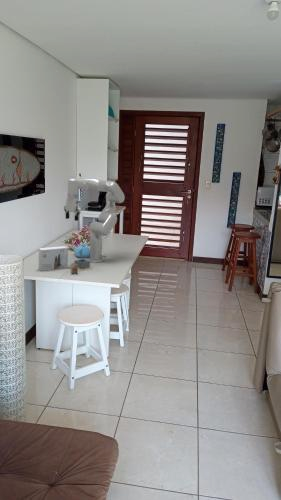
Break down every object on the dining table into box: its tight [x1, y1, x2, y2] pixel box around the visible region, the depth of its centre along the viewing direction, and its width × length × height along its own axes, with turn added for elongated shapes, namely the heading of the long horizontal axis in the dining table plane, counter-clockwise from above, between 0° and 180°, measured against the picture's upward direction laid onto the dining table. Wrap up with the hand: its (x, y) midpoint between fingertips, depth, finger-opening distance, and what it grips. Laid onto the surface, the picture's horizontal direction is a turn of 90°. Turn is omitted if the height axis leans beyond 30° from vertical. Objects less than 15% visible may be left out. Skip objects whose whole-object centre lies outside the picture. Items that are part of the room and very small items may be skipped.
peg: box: [70, 262, 79, 275], centre depth 268 cm, size 4×4×7 cm
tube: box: [74, 258, 93, 272], centre depth 283 cm, size 11×11×5 cm
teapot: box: [71, 242, 90, 259], centre depth 314 cm, size 15×15×10 cm
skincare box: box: [37, 245, 69, 272], centre depth 275 cm, size 21×5×16 cm, turn 126°
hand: (71, 219), depth 278 cm, fingers open, 9 cm apart
